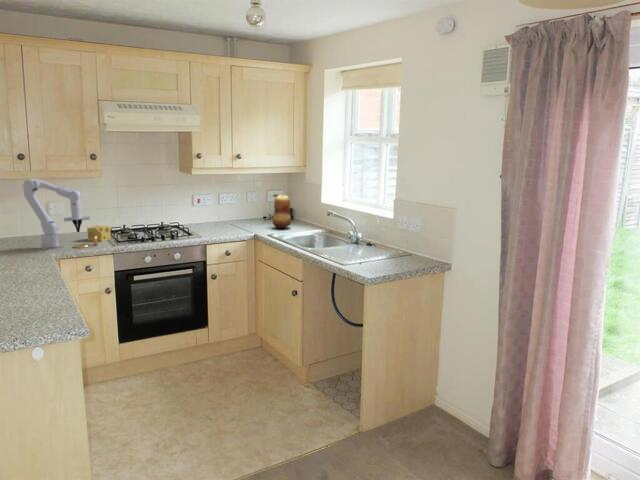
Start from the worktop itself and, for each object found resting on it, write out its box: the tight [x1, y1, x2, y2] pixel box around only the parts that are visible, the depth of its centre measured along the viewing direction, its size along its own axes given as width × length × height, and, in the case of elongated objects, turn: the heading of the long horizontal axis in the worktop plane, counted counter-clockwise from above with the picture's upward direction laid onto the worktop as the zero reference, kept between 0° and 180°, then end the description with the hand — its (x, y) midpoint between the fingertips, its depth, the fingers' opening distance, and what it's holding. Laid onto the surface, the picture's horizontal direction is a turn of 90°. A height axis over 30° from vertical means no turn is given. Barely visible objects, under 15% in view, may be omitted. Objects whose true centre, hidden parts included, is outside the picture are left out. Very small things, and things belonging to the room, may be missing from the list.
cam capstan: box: [73, 236, 98, 249], centre depth 323 cm, size 14×9×6 cm, turn 119°
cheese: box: [86, 224, 112, 243], centre depth 342 cm, size 10×11×10 cm
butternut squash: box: [272, 194, 292, 229], centre depth 390 cm, size 14×13×25 cm
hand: (78, 231), depth 324 cm, fingers closed
